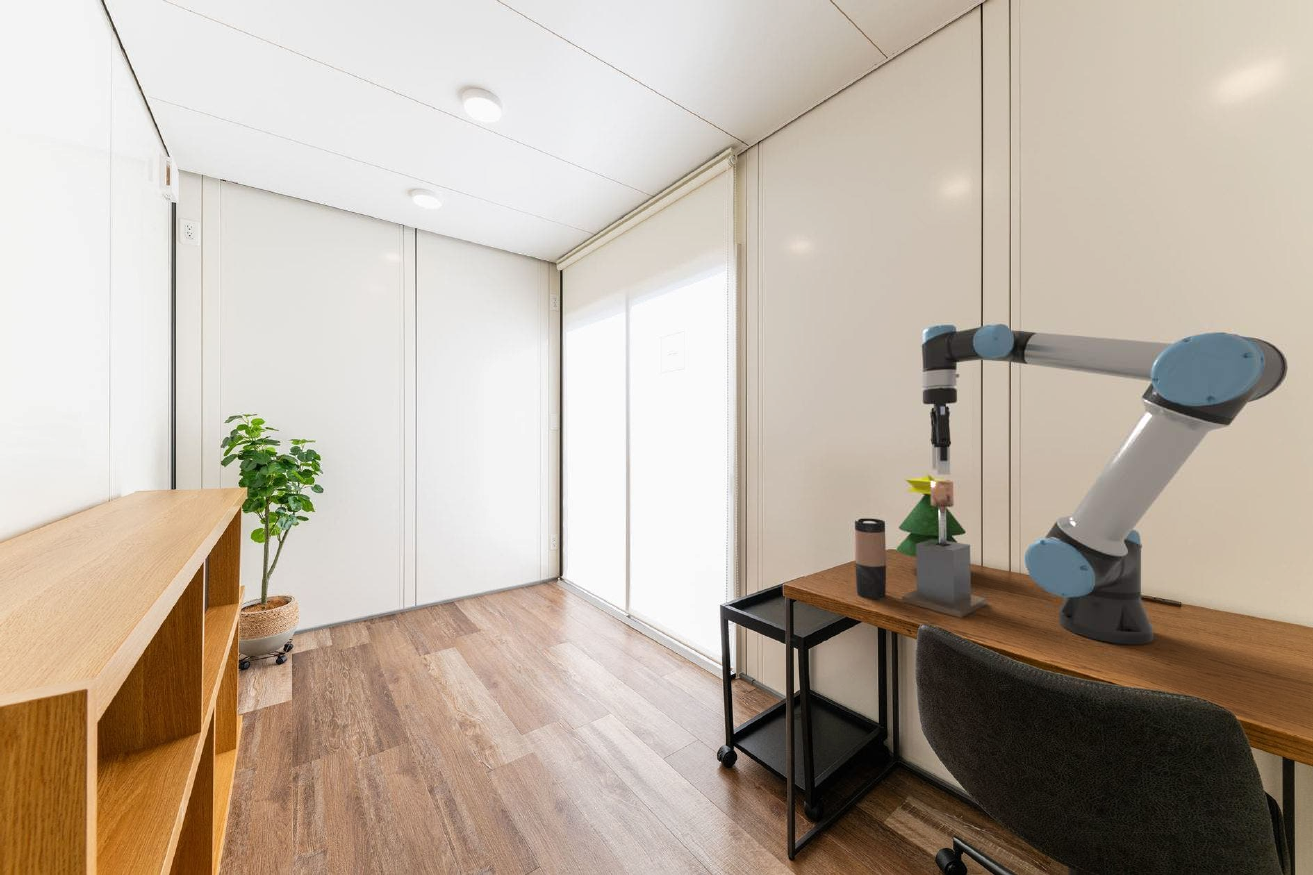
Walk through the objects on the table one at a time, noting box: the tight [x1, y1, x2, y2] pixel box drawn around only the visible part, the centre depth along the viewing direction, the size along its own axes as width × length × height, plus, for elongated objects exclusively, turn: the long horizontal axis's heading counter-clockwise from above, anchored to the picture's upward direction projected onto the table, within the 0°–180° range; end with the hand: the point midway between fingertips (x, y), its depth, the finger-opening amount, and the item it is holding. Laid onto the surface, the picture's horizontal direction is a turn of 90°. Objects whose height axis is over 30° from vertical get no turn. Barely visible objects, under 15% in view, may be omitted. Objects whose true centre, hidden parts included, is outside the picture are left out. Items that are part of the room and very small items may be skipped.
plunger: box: [931, 480, 955, 546], centre depth 125 cm, size 5×5×21 cm
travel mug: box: [854, 517, 887, 600], centre depth 133 cm, size 8×8×20 cm
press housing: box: [901, 539, 987, 619], centre depth 125 cm, size 14×14×15 cm
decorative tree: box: [896, 474, 967, 558], centre depth 152 cm, size 19×19×30 cm
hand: (940, 472), depth 125 cm, fingers open, 13 cm apart
